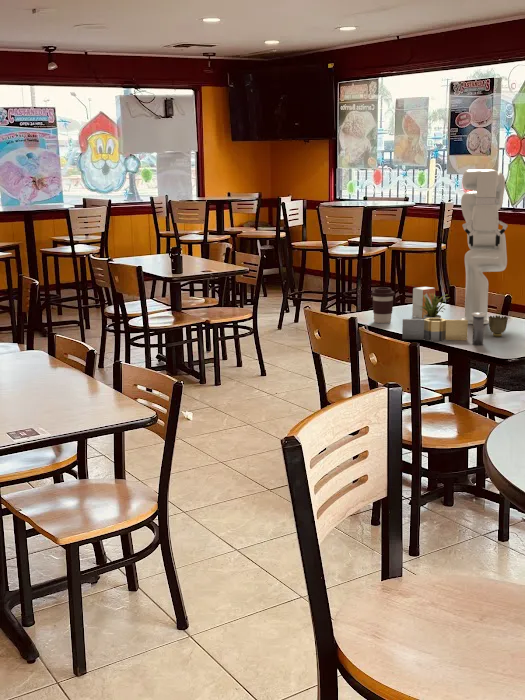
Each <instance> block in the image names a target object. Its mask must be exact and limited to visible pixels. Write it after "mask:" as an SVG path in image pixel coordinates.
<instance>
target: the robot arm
mask: <svg viewBox="0 0 525 700" xmlns="http://www.w3.org/2000/svg"><path fill="white" fill-rule="evenodd" d="M461 183H462V188H463V189H464V190H468V191H466V192H464V193H463V194H462V196H461V199H460V200H461V201H460V205H461V207H460V208H461V212H462V217H463V218H464V220H465V223H463V224H462V228H463V230H464V231H465V234H466V235H467V239H466V240H467V245H468V248H469V250H468V251H467V252H465V254H464V267H465V297H464V300H465V301H464V317H462V318H460V320H468V325H473V316H472V313H474V312H482V313H486V317H484V325H489V317H488V306H489V305H488V303H489V280H488V278H487V276H486V275H485V274H484V273H487V272H488V273H491V272H494V273H496V272H503V271H505V270H506V268H507V265H508V255H507V254H508V253H507V242H506V241H507V239H506V233H505V232H506V230H507V228H508V227H509V226H508V224H507V223H505V222H503V221H502V220H499V210H500V209H501V208H502V207H503V202H504V201H503V200H504V194H505V189H506V188H505V187H506V179H505V175H504V174H503V172H501V171H497V170H496V169H466V170H464V172H463V173H462V180H461ZM499 225H500V226H502V229H499Z"/></svg>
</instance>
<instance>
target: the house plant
mask: <svg viewBox="0 0 525 700" xmlns="http://www.w3.org/2000/svg"><path fill="white" fill-rule="evenodd" d="M429 294H430V293H429ZM430 295H432V294H430ZM448 295H449V294H448V293H447V294H443V295H442V296H440V298H439V296H437V295H436V293H435V294H434V299H433V297H432V296H431V299H432V305H431V303H430V302H429V300H428V298H427V297H425V296H424V295H423V296H424V298H425V300H426V302H424V301H423V300H422V299H421V300H422V301H423V302H424V303H425V306H424V307H423V306H420V307H422V308H424V309H425V310H426V311H427V313H428V315H424V318H423V319H427V318H442V316H441V315H440V314H438V313H439V312H441V313H444V310H445V311H446V308H445V306H446V304H444V305H443V303H444V302H445V301H446V300H448V299H449V298H451V297H450V296H449V297H446V296H448ZM445 297H446V298H445ZM441 305H442V306H441ZM425 307H426V308H425ZM419 310H422V309H419ZM423 311H424V310H423ZM424 312H425V311H424ZM425 313H426V312H425ZM427 313H426V314H427Z"/></svg>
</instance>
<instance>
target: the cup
mask: <svg viewBox="0 0 525 700" xmlns="http://www.w3.org/2000/svg"><path fill="white" fill-rule="evenodd" d="M488 319H489V323H488V327H489V331H490V332H491V333H492V337H495V338H502V336H503V333H505V331H506V329H507V324H508V319H509V318H508V317H507V316H506V315H505V316H503V315H502V316H500V315H493V316H492V315H489V316H488Z"/></svg>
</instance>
